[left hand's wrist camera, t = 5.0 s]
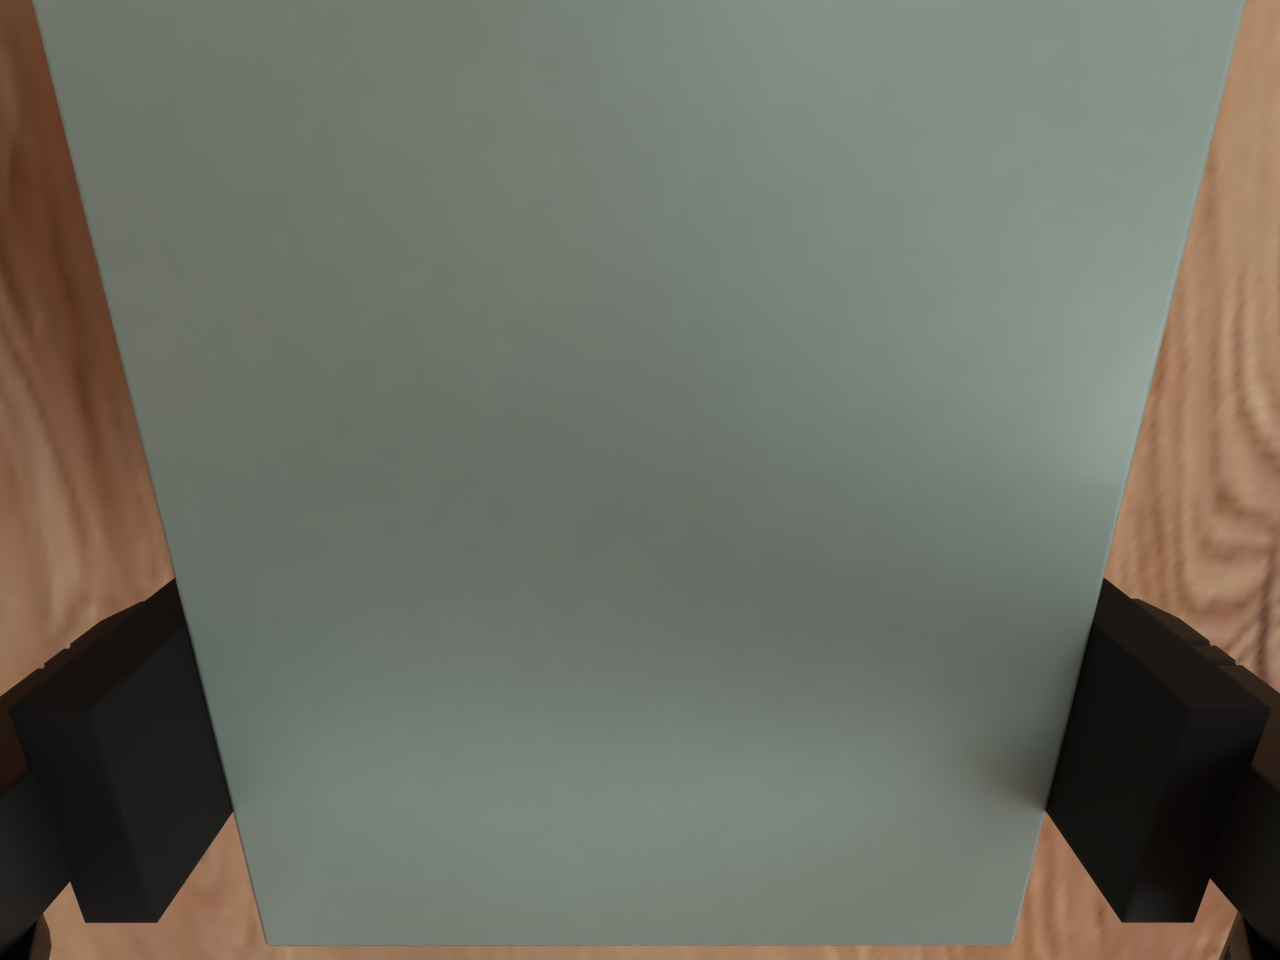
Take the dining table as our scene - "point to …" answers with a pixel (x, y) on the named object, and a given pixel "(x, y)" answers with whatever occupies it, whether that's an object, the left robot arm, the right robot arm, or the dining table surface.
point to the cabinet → (639, 435)
